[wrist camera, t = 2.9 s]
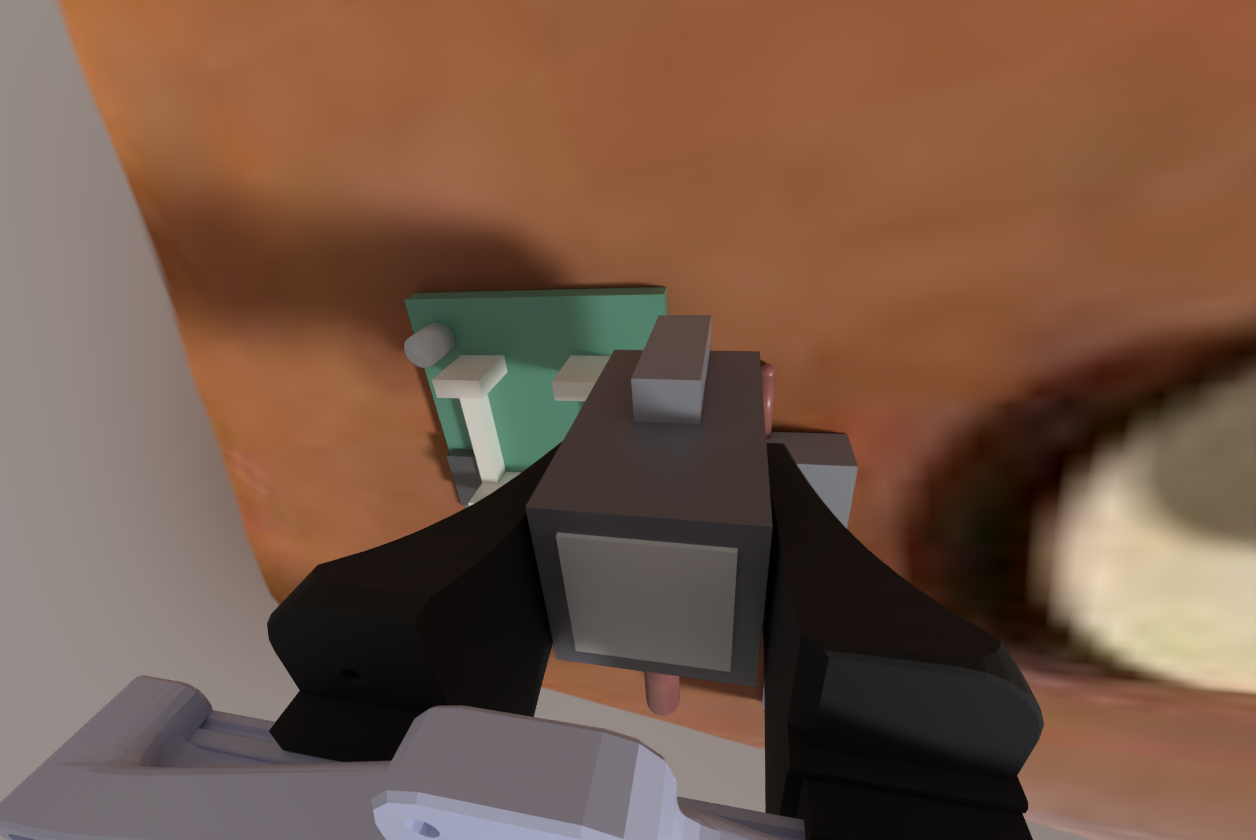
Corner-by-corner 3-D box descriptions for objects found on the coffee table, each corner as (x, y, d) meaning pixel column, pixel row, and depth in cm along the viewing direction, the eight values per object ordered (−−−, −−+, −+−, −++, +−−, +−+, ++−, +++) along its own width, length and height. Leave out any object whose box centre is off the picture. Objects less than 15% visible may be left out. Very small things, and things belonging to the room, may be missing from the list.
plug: (746, 541, 17) (748, 770, 11) (629, 531, 18) (571, 740, 12) (762, 315, 13) (777, 477, 7) (611, 315, 14) (512, 460, 8)
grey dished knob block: (827, 554, 25) (837, 603, 23) (686, 543, 27) (680, 588, 24) (858, 361, 20) (875, 396, 18) (681, 361, 21) (673, 393, 19)
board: (675, 520, 26) (667, 572, 23) (477, 506, 28) (446, 552, 25) (666, 286, 20) (653, 315, 17) (416, 292, 22) (366, 319, 19)
